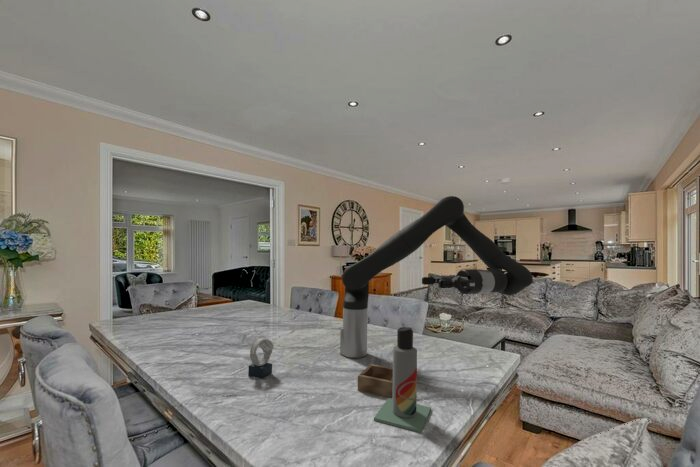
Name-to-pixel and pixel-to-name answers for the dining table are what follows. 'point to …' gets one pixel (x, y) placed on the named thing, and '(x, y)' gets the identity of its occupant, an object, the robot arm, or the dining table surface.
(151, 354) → the dining table surface
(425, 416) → the sage mat
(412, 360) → the lotion bottle
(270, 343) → the watch
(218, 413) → the dining table surface
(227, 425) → the dining table surface
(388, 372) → the walnut holder
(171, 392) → the dining table surface
